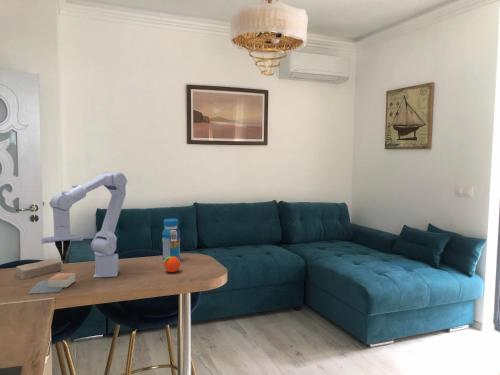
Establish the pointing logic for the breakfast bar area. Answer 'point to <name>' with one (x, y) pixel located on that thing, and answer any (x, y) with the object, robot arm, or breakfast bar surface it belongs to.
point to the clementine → (171, 264)
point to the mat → (44, 288)
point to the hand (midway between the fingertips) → (63, 260)
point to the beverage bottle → (171, 239)
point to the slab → (61, 280)
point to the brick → (38, 268)
